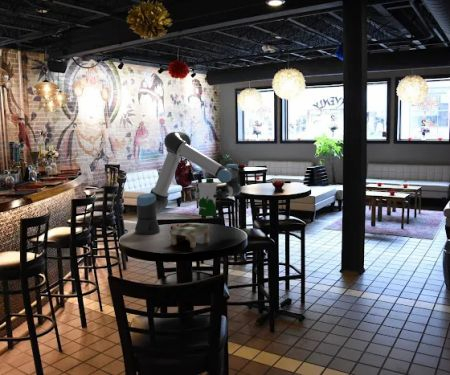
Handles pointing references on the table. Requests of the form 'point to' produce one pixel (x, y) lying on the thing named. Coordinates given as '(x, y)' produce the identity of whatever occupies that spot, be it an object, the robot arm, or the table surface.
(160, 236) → the table surface
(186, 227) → the stool
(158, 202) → the robot arm
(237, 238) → the table surface
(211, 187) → the milk carton
